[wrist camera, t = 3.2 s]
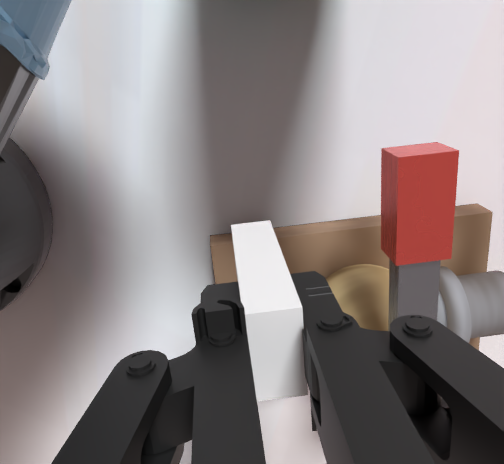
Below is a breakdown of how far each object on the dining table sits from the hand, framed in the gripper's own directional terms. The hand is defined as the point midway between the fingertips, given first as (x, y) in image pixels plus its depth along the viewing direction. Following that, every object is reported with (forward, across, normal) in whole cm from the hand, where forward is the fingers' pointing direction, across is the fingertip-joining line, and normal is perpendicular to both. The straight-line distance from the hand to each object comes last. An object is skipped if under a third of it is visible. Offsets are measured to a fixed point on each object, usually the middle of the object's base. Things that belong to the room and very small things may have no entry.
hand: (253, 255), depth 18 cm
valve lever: (+4, +8, -5) cm, 10 cm away
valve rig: (+15, +8, -11) cm, 20 cm away
